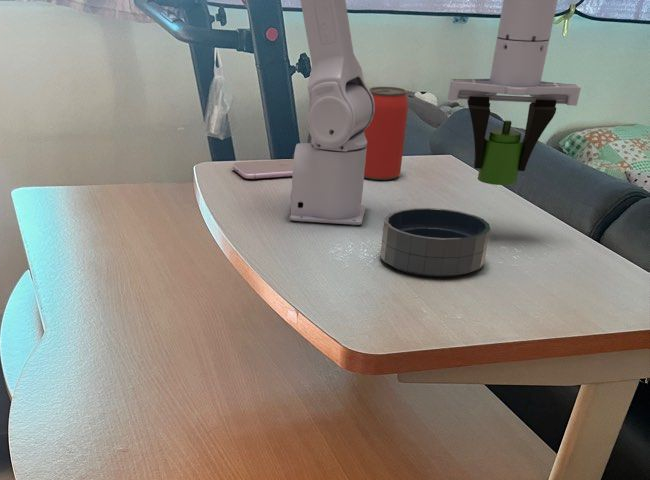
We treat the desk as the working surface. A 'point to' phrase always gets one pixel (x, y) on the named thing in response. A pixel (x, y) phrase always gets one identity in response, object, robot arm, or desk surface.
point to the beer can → (386, 133)
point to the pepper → (501, 156)
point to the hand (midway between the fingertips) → (498, 167)
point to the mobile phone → (265, 169)
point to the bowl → (434, 242)
